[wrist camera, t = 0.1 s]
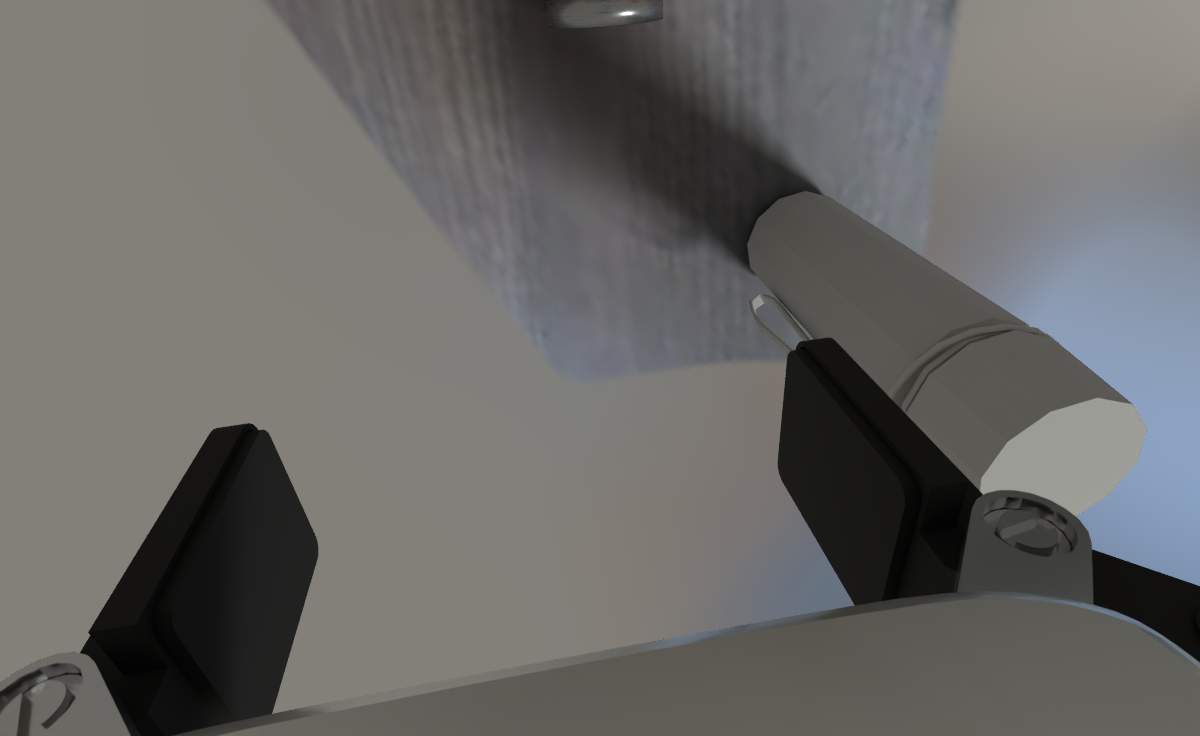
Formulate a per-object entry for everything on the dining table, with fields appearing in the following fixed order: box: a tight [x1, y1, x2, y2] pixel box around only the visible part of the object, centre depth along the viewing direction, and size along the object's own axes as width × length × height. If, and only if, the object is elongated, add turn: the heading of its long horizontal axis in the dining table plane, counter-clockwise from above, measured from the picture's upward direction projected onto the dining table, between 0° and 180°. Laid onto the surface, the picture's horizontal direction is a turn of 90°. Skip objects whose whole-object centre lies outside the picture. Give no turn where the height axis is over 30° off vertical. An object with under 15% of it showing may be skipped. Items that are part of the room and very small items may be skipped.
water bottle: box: [747, 191, 1147, 517], centre depth 34 cm, size 9×8×25 cm
